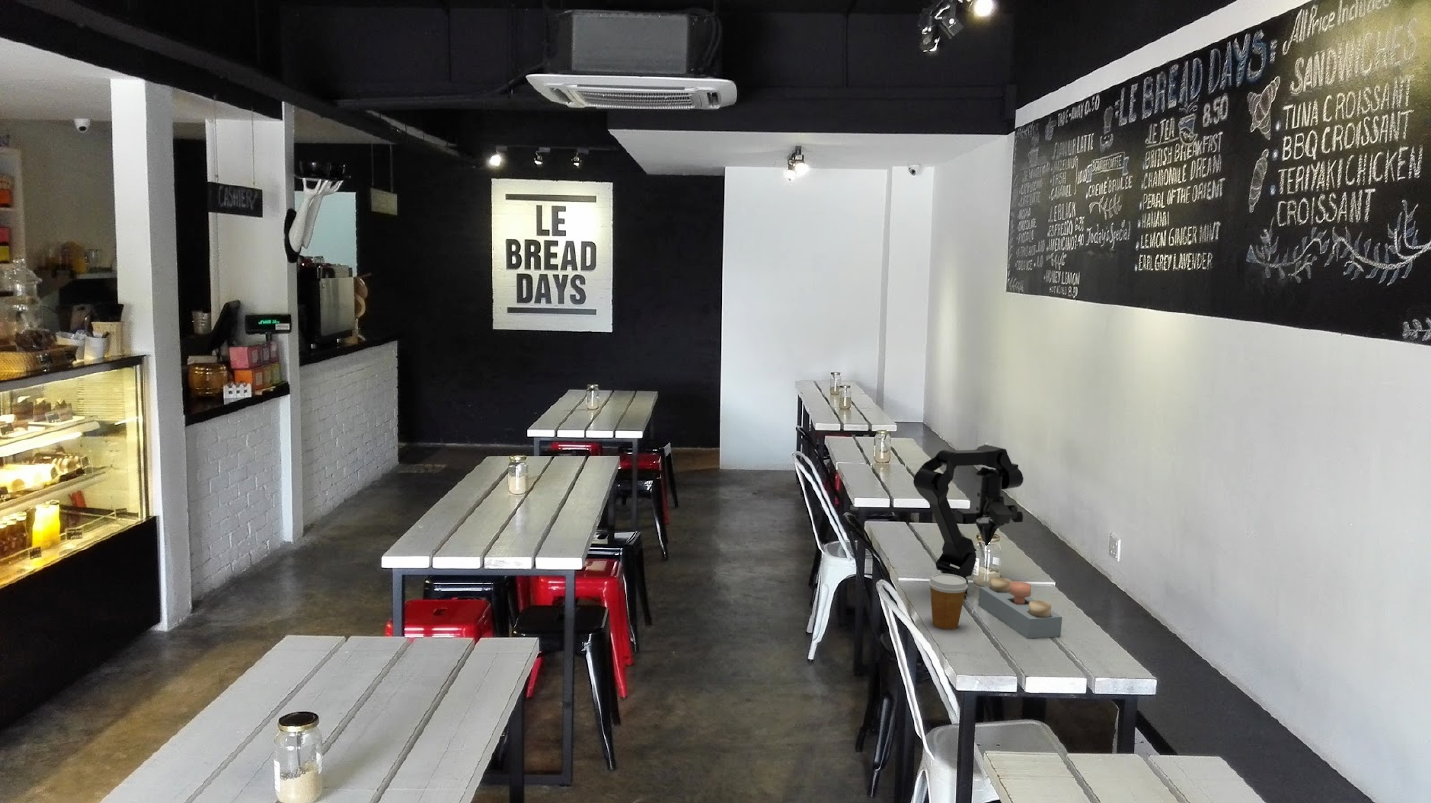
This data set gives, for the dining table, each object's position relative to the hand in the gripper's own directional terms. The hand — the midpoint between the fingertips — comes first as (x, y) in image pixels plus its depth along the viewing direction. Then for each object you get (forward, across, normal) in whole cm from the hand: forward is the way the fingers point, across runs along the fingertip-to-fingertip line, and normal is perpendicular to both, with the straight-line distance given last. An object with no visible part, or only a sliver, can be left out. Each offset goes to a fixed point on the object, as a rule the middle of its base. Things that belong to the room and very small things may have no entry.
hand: (986, 545), depth 284 cm
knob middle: (+10, -5, -25) cm, 28 cm away
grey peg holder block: (+12, -4, -25) cm, 28 cm away
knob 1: (+12, -5, -16) cm, 21 cm away
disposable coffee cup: (+12, -25, -26) cm, 38 cm away
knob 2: (+12, -5, -35) cm, 37 cm away
